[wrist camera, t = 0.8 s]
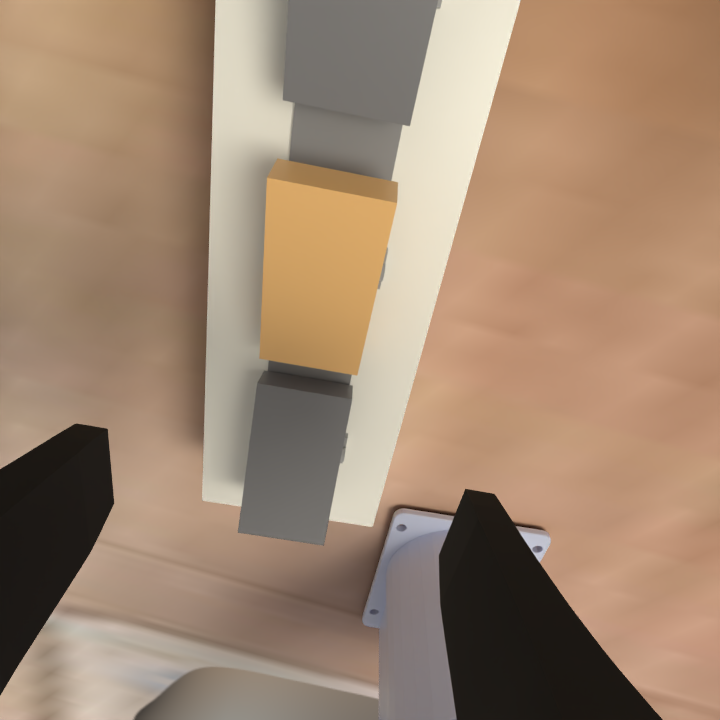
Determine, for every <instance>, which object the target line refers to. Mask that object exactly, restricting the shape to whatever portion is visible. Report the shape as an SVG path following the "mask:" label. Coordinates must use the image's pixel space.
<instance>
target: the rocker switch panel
mask: <svg viewBox="0 0 720 720" xmlns="http://www.w3.org/2000/svg"><path fill="white" fill-rule="evenodd" d="M520 1H521V0H438V4H437V8H436V12H435V17H434V21H433V26H432V30H431V35H430V39H429V44H428V48H427V52H426V57H425V61H424V66H423V70H422V75H421V79H420V84H419V88H418V92H417V97H416V101H415V106H414V110H413V115H412V119H411V124H410V126H406V125H401V124H396V123H391V122H386V121H381V120H376V119H371V118H367V117H362V116H357V115H352V114H347V113H342V112H337V111H332V110H328V109H323V108H318V107H313V106H308V105H303V104H298V103H293V102H288V101H284V100H283V85H284V68H285V51H286V33H287V16H288V0H216V7H215V44H214V81H213V118H212V155H211V193H210V230H209V267H208V304H207V341H206V378H205V415H204V452H203V490H202V501H209V502H215V503H221V504H228V505H234V506H241V505H242V497H243V489H244V481H245V474H246V466H247V458H248V450H249V442H250V435H251V427H252V419H253V411H254V404H255V396H256V388H257V383H258V381H259V379H260V377H261V375H262V373H263V372H264V370H265V371H271V372H276V373H282V374H288V375H294V376H300V377H305V378H311V379H317V380H323V381H329V382H334V383H340V384H346V385H352V386H353V393H352V403H351V409H350V414H349V419H348V424H347V429H346V434H345V439H344V445H343V450H342V455H341V460H340V465H339V470H338V475H337V480H336V486H335V491H334V496H333V501H332V506H331V511H330V516H329V520H330V521H337V522H343V523H350V524H356V525H363V526H369V527H373V524H374V520H375V517H376V513H377V510H378V506H379V502H380V499H381V495H382V492H383V488H384V485H385V481H386V477H387V474H388V470H389V467H390V463H391V460H392V456H393V453H394V449H395V445H396V442H397V438H398V435H399V431H400V428H401V424H402V421H403V417H404V413H405V410H406V406H407V403H408V399H409V396H410V392H411V389H412V385H413V381H414V378H415V374H416V371H417V367H418V364H419V360H420V356H421V353H422V349H423V346H424V342H425V339H426V335H427V332H428V328H429V324H430V321H431V317H432V314H433V310H434V307H435V303H436V300H437V296H438V292H439V289H440V285H441V282H442V278H443V275H444V271H445V268H446V264H447V260H448V257H449V253H450V250H451V246H452V243H453V239H454V235H455V232H456V228H457V225H458V221H459V218H460V214H461V211H462V207H463V203H464V200H465V196H466V193H467V189H468V186H469V182H470V179H471V175H472V171H473V168H474V164H475V161H476V157H477V154H478V150H479V146H480V143H481V139H482V136H483V132H484V129H485V125H486V122H487V118H488V114H489V111H490V107H491V104H492V100H493V97H494V93H495V90H496V86H497V82H498V79H499V75H500V72H501V68H502V65H503V61H504V58H505V54H506V50H507V47H508V43H509V40H510V36H511V33H512V29H513V25H514V22H515V18H516V15H517V11H518V8H519V4H520ZM277 158H278V159H283V160H288V161H293V162H298V163H303V164H308V165H313V166H319V167H324V168H329V169H334V170H339V171H344V172H349V173H354V174H359V175H364V176H369V177H374V178H379V179H384V180H389V181H394V182H398V197H397V206H396V211H395V215H394V219H393V224H392V228H391V232H390V237H389V241H388V245H387V250H386V254H385V258H384V262H383V267H382V271H381V275H380V280H379V284H378V288H377V293H376V297H375V301H374V306H373V310H372V314H371V319H370V323H369V327H368V332H367V336H366V340H365V345H364V349H363V353H362V358H361V362H360V366H359V371H358V375H351V374H345V373H339V372H334V371H328V370H322V369H316V368H311V367H305V366H299V365H293V364H288V363H282V362H276V361H270V360H265V359H259V355H260V331H261V307H262V283H263V259H264V236H265V212H266V188H267V177H268V175H269V173H270V171H271V169H272V167H273V166H274V164H275V162H276V160H277Z"/></svg>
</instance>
